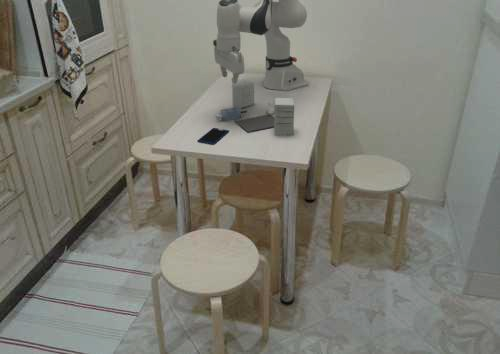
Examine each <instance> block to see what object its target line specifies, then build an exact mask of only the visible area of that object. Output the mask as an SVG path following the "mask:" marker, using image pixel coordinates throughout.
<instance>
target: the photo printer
mask: <svg viewBox="0 0 500 354" xmlns="http://www.w3.org/2000/svg"><path fill="white" fill-rule="evenodd" d="M231 85H232V87H231V89H232V90H231V91H232V94H231V96H232V97H231V99H232V108H234V107H238V108H240V109H243V108H247V107H251V106H254V105H255V80H254V79H252V78H250V77H249V78H248V77H243V78H240V79H239V78H238V82H237V83H233V82H232V84H231Z"/></svg>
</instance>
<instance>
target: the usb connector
mask: <svg viewBox="0 0 500 354" xmlns="http://www.w3.org/2000/svg"><path fill="white" fill-rule="evenodd" d="M241 109H242V108H238V107H234V108H233V107H229V108H224V109H221V110H220V114H215V118H216V120H219V119H220V121H221V122H225V123H227V122H231V121H237V120H241V116H242V114H246V113H248V110H241Z"/></svg>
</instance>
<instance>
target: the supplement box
mask: <svg viewBox="0 0 500 354" xmlns="http://www.w3.org/2000/svg"><path fill="white" fill-rule="evenodd" d="M273 117H274V128H273V130H274V135H275V136H294V128H295V127H294V123H295V102H294V97H293V98H292V97H275V98H274V115H273Z"/></svg>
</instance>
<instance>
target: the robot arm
mask: <svg viewBox="0 0 500 354" xmlns="http://www.w3.org/2000/svg"><path fill="white" fill-rule="evenodd" d="M216 9H217V10H216V27H217V34H216V38H215V39H213V40H212V45H213V48H214V49H213V52H214V53H213V54H214V60H215V61H214V62H216V64H217V65H219V67H220V70H221V71H220V72H221V76H222V77H223V78H227V77H228V72H227V70H228V71H230V72H231V73H232V78H231V83H232V84H233V83H237V82H238V80H239V75H241V74H242V75H243V74H244V73H245V59H244V54H243V53H242V52H241V33H247V34H248V33H249V34H254V35H256V36H257V35H258V36H263V35H264V38H265V42H266V43H265V44H266V55H265V74H264V75H265V76H264V81H263V84H262V86H263V87H264V88H266V89H269V90H274V91H275V90H276V91H283V92H284V91H285V92H288V91H291V90H295V89H299V88H302V87H306V86H308V85H309V81H308V80H307V79H305V76H304V72H303V71H302V69H300V67H298V66H296V64H294V63H297V62H298V61H297V60H298V59H297V57H294V56H291V41H290V39H289V37H288V36H287V35H285V34H284V33H282V31H281V29H280V28H286V29H287V28H288V29H296V28H301V27H303V26H304V25H305V23H306V22H307V17H308V11H307V9H306V8H305V6H304V5H303V4H302V3H301V2H300V1H299V0H278V1H274V0H259V2H256V3H255V5H254V6H248V5H241V4H240V3H239V0H220V1H218V4H217V8H216Z"/></svg>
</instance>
